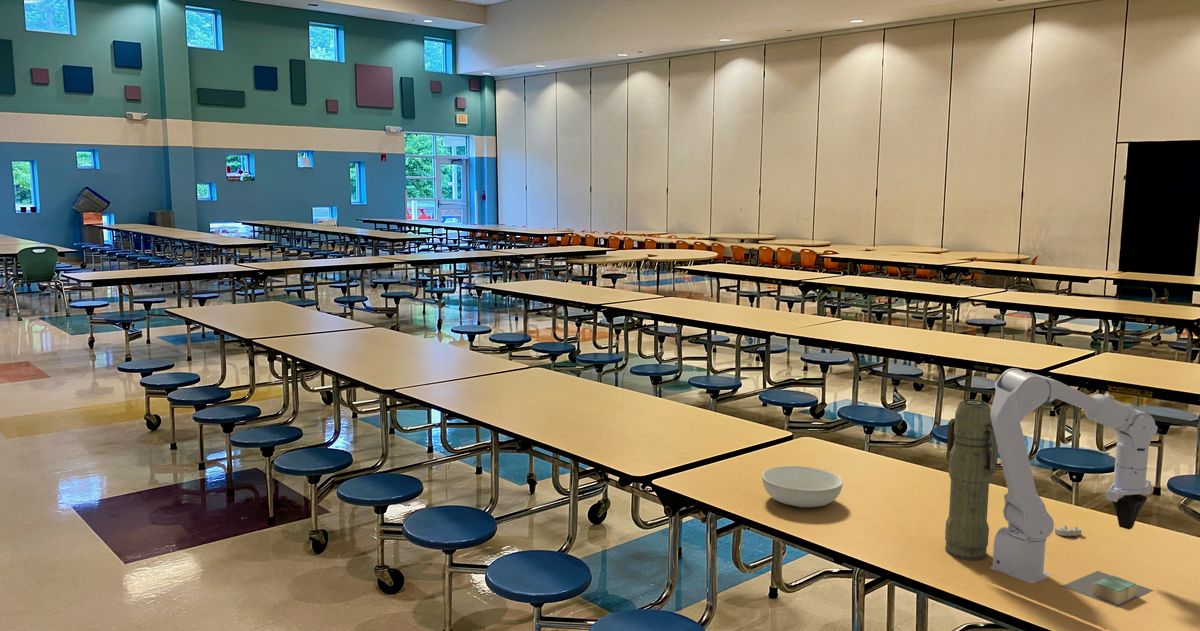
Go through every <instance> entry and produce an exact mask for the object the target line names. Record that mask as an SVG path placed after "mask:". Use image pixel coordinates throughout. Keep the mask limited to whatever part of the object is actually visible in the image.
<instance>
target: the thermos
mask: <svg viewBox="0 0 1200 631" xmlns="http://www.w3.org/2000/svg"><path fill="white" fill-rule="evenodd" d="M990 412H991V407H990V405H989V403H987V402H986V401H983V400H978V399H963V400H962V401H959V403H958V405H957V407H956V411H955V413H954V414H955V415H954V418H951V419H950V420H949V422H948V423H947V433H946V434H947V437H946V442H947V443H946V444H947V445H946V457H945V458H946V460H947V461H948V462H949V464H948V465H949V469H948V475H949V478H950V490H949V505H948V506H949V508H948V517H947V519H946V521H945V529H944V530H945V531H944V532H945V534H944V540H945V548H944V549H945V552H946V553H947V554H948V555H950V556H952V557H955V558H957V559H961V560H966V561H968V560H969V561H981V560H985V559H986V558H987V551H988V550H987V549H988V548H987V547H988V546H989V534H990V526H989V524H988V506H989V505H988V504H989V493H990V492H989V489H990V487H989V486H990V483H991V481H992V479H993V474H996V472H997V464H998V455H999V451H998V447H997V442H996V438H995V434H994V430H993V426H992V422H991V417H990Z"/></svg>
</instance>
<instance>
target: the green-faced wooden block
mask: <svg viewBox="0 0 1200 631" xmlns="http://www.w3.org/2000/svg"><path fill="white" fill-rule="evenodd" d="M1110 575H1111V574H1110ZM1137 585H1138V584H1137V583H1135V582H1132V581H1130V580H1127V579H1124V578H1122V577H1118V576H1116V575H1111V576H1109V577H1107V578H1104V579H1102V580H1100V581H1097V582H1095V583H1093V591H1092V595H1094V596H1097V597H1099V598H1102V599H1105V600H1107V601H1110V602H1113V603H1115V604H1118V605H1119V604H1121V603H1123V602H1125V601H1127V600H1129V599H1131V598H1133V597H1135V596H1136V595H1137Z"/></svg>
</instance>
